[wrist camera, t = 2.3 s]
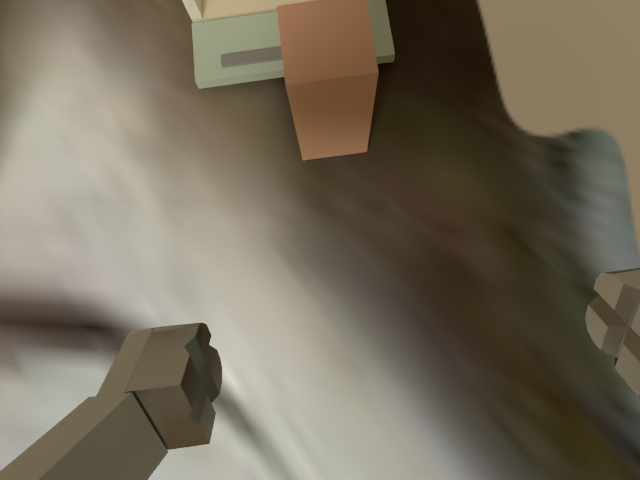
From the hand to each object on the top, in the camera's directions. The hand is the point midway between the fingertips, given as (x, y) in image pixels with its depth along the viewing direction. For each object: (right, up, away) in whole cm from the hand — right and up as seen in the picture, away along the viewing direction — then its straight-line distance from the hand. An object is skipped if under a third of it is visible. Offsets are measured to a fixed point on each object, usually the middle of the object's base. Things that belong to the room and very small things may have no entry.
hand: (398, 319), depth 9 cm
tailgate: (-4, +18, +21) cm, 28 cm away
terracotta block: (-1, +10, +20) cm, 22 cm away
